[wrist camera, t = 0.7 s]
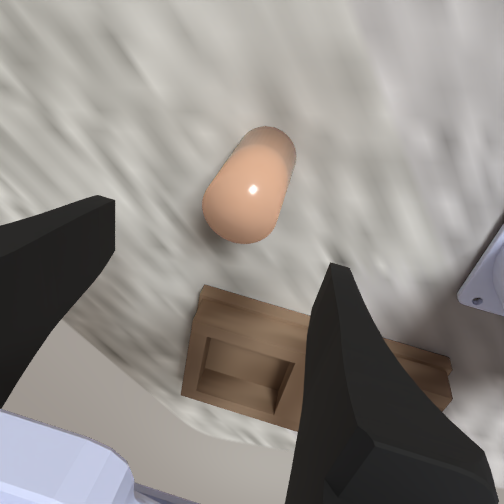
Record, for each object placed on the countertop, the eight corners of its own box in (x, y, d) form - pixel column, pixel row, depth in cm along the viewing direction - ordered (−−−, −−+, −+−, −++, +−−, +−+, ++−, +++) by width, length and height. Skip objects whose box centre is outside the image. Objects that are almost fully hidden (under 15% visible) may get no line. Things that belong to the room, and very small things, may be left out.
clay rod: (303, 135, 20) (286, 187, 15) (287, 190, 21) (267, 252, 17) (243, 119, 20) (207, 165, 15) (233, 174, 22) (197, 232, 17)
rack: (449, 357, 25) (459, 397, 23) (397, 427, 30) (401, 466, 28) (204, 284, 26) (189, 315, 24) (190, 362, 31) (176, 395, 29)
